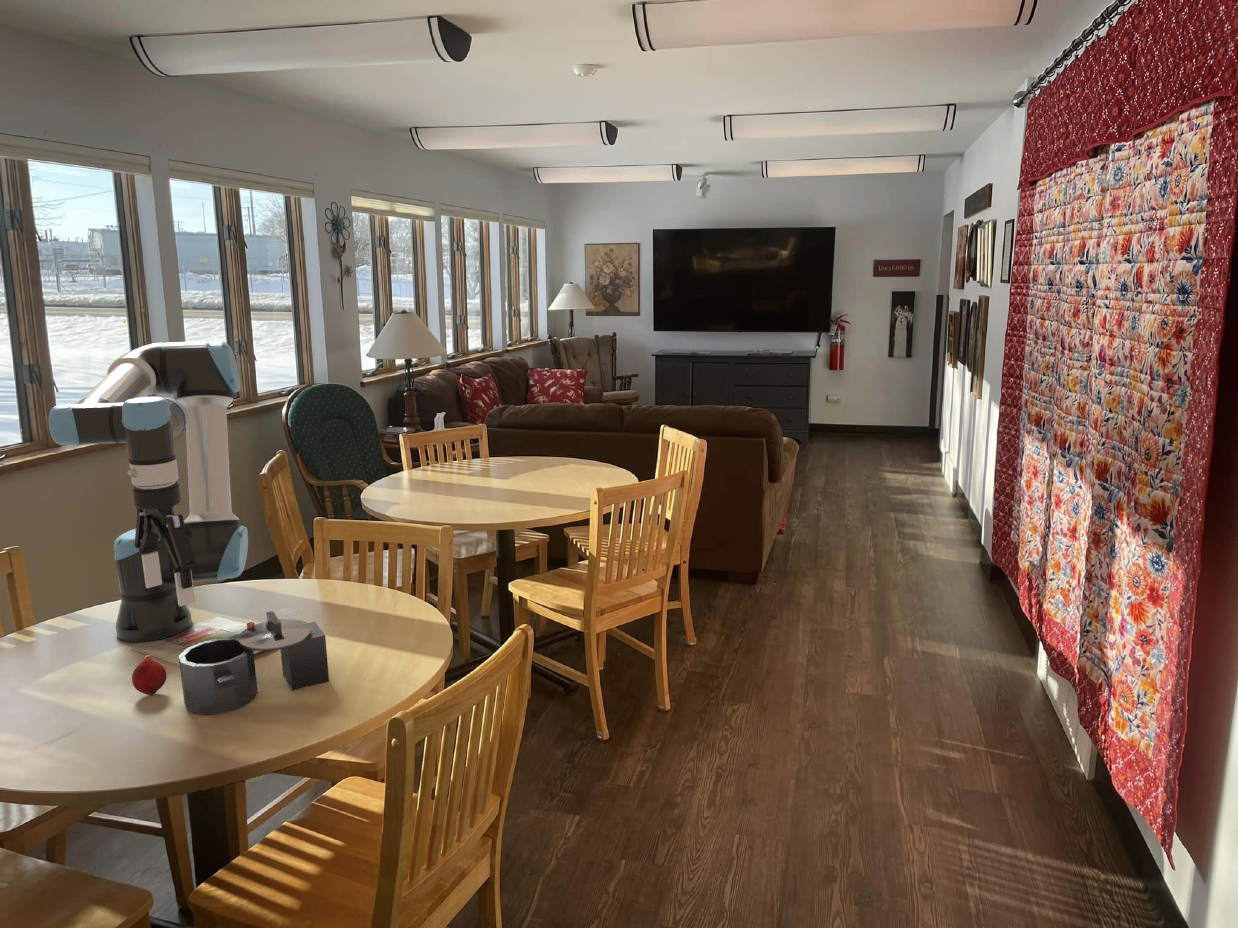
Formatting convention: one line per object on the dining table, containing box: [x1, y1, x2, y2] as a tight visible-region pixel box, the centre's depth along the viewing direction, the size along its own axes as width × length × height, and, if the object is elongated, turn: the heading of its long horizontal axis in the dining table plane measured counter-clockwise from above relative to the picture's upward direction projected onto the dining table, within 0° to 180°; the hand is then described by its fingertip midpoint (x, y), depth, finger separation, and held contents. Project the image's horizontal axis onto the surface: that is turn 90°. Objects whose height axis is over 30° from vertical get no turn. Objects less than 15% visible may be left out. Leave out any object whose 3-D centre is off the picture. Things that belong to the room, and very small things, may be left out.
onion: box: [131, 654, 168, 696], centre depth 169 cm, size 6×6×8 cm
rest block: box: [279, 621, 330, 691], centre depth 176 cm, size 8×7×10 cm
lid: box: [237, 610, 311, 652], centre depth 172 cm, size 13×13×4 cm
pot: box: [178, 637, 259, 716], centre depth 168 cm, size 21×12×10 cm, turn 32°
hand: (170, 594), depth 165 cm, fingers open, 13 cm apart
